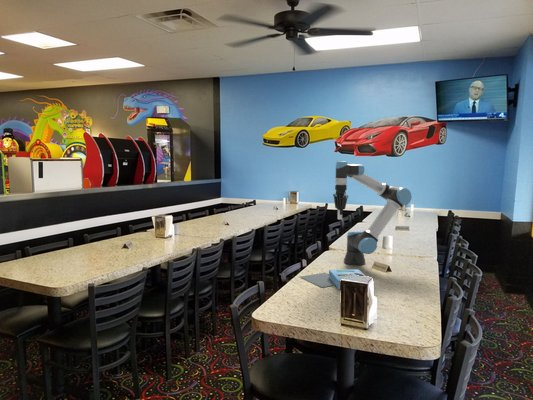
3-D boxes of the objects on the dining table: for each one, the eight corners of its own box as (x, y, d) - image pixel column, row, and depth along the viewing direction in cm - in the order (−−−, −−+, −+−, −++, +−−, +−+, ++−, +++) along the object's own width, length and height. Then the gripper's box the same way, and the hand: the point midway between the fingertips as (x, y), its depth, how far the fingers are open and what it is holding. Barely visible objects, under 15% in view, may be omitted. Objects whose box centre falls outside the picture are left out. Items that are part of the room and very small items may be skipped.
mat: (324, 273, 251) (324, 272, 251) (348, 283, 231) (348, 282, 231) (299, 277, 241) (299, 276, 241) (322, 288, 221) (322, 287, 221)
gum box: (328, 276, 239) (339, 290, 217) (329, 268, 239) (339, 282, 216) (358, 276, 242) (372, 290, 219) (359, 268, 241) (372, 282, 218)
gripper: (330, 183, 258) (329, 218, 261) (343, 185, 247) (341, 221, 250) (338, 183, 262) (337, 217, 264) (351, 184, 251) (350, 220, 253)
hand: (339, 219), depth 257 cm, fingers closed
